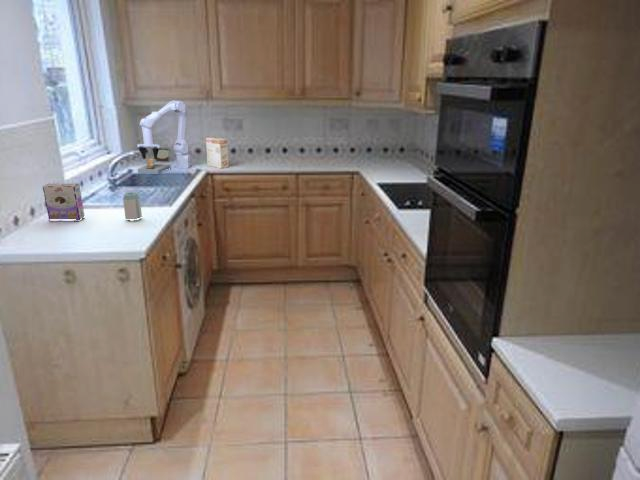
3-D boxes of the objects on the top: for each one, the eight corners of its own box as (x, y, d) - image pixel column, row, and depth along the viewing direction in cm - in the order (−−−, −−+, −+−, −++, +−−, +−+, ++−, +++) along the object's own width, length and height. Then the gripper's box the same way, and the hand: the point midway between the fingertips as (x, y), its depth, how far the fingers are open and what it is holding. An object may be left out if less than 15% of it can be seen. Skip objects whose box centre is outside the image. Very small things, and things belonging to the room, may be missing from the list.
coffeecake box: (229, 167, 337) (227, 138, 330) (221, 168, 331) (219, 139, 325) (215, 164, 346) (213, 136, 339) (207, 165, 340) (205, 137, 334)
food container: (173, 160, 357) (172, 146, 354) (170, 162, 351) (169, 148, 348) (157, 160, 358) (156, 146, 355) (154, 161, 353) (152, 147, 349)
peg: (155, 171, 320) (154, 157, 317) (153, 172, 317) (151, 158, 314) (149, 171, 321) (148, 157, 318) (147, 172, 317) (145, 158, 314)
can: (122, 220, 220) (119, 194, 216) (135, 216, 226) (132, 191, 222) (132, 223, 217) (129, 196, 213) (145, 219, 222) (142, 193, 218)
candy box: (85, 218, 223) (80, 182, 217) (80, 222, 217) (74, 186, 212) (54, 218, 222) (48, 182, 217) (48, 221, 217) (41, 185, 211)
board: (170, 168, 330) (170, 164, 329) (158, 173, 314) (157, 169, 313) (151, 167, 332) (150, 163, 331) (138, 172, 315) (137, 169, 315)
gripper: (134, 138, 308) (136, 159, 313) (155, 138, 306) (157, 160, 311) (139, 136, 315) (141, 157, 320) (160, 137, 313) (162, 158, 318)
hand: (150, 158), depth 316 cm, fingers open, 7 cm apart
